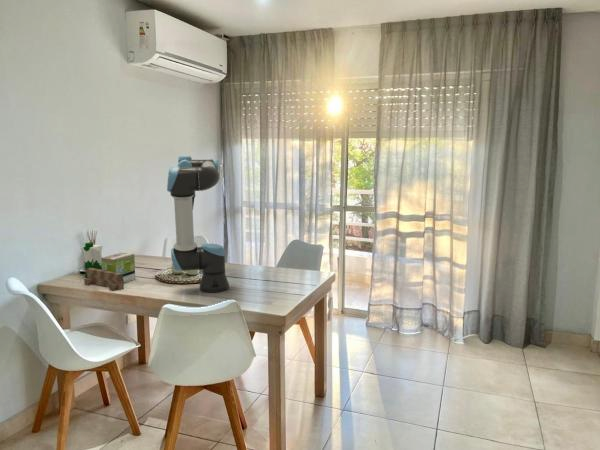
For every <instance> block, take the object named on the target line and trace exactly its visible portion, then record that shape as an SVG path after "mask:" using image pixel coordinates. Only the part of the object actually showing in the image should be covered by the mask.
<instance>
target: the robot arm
mask: <svg viewBox="0 0 600 450" xmlns="http://www.w3.org/2000/svg"><path fill="white" fill-rule="evenodd" d="M177 159H178V160H177V163H178V164H177V166H174V167H173V166H172V167H170V168H168V175H167V188H166V190H167V192H168V193H170V197H172V198H173V200H174V203H173V204H174V219H175V220H174V221H175V222H174V223H175V240H176V243H175V244H173V248H171V249H170V256H171V262H172V266H173V269H174V271H177V272H181V271H182V272H185V271H186V272H187V271H201V270H202V276H201V279H200V283H199V291H201V292H202V293H203V292H204V293H219V292H220V293H221V292H224V291H227V290H228V289H230V283H229V281H228V277H227V274H226V258H225V257H226V253H225V252H226V251H225V247H224V246H222V245H220V244H218V243H217V244H215V243H202V244H201V245H200V246H201V247H200V246H199V247H198V243H197V242H196V241H195V237H194V236H195V235H194V234H195V231H194V213H193V210H194V205H195V198H196V192H200V191H201V192H202V191H207V190H210V189H212V188H213V187H215V186H217V184H218V183H219V180H220V172H219V161H218V159H213V158H212V159H192V157H191V155H183V156H181V155H180V156H178V158H177Z"/></svg>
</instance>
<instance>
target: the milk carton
mask: <svg viewBox="0 0 600 450" xmlns="http://www.w3.org/2000/svg"><path fill="white" fill-rule="evenodd" d="M81 249H82V252H83V260H84V279H87V268H95V269H100V270H102V258H103V257H102V252H103V251H102V249H103V244H94V242H85V243H84V245H83V246H81Z"/></svg>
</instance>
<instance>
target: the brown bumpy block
mask: <svg viewBox="0 0 600 450" xmlns="http://www.w3.org/2000/svg"><path fill="white" fill-rule="evenodd" d="M83 282H84V285H85V286H92V285H96V286H100V287H105V288H108V290H109V291H113V292H114V291H118V290H119V291H120V290H123V289H124V288H125V287H124V286H125V285H124V284H125V283H123V274H121V273H116V272H111V271H105V270H100V269H95V268H87V278H84V280H83ZM91 284H92V285H91ZM124 290H125V289H124Z"/></svg>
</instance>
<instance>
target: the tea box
mask: <svg viewBox="0 0 600 450" xmlns="http://www.w3.org/2000/svg"><path fill="white" fill-rule="evenodd" d="M135 263H136V262H135V253H128V252H127V253H126V252H119V253H118V252H117V253H115V254H110V255H108V256H104V257H102V270H105V271H111V272H116V273H121V274H123V284H125V283H127V282H130V281H134V280H135V279H136V266H135V265H136V264H135Z"/></svg>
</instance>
